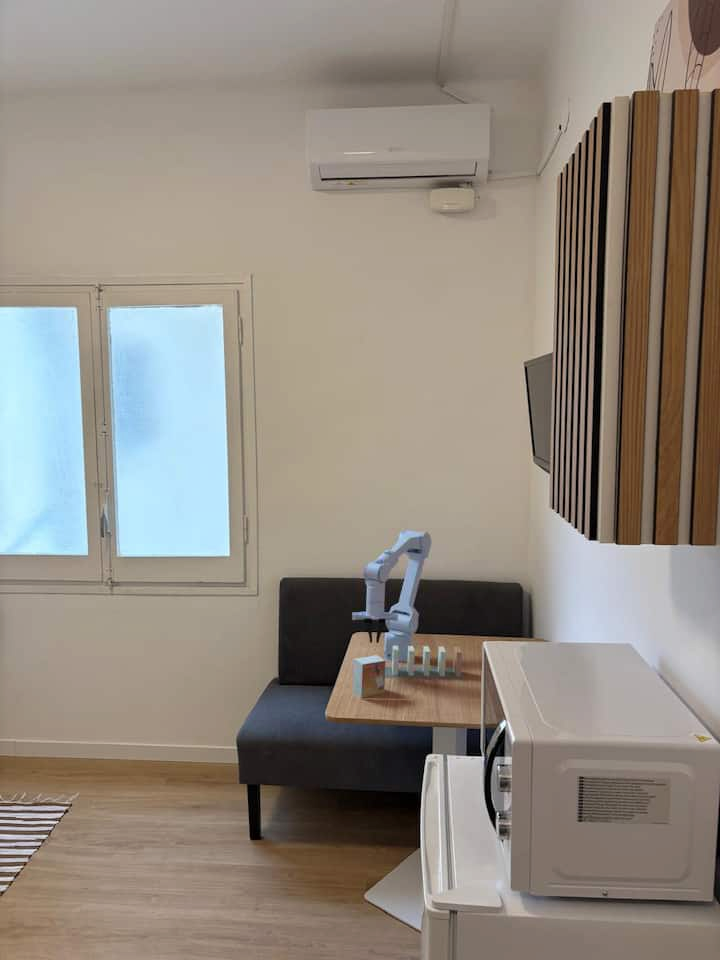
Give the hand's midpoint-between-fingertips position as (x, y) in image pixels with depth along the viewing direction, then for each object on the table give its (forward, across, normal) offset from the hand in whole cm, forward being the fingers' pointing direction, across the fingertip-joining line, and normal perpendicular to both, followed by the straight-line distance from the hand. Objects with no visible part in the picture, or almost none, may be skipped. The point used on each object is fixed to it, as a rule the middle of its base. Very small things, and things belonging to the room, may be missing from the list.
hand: (374, 641), depth 219 cm
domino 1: (+10, +7, 0) cm, 12 cm away
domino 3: (+10, +17, 0) cm, 20 cm away
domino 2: (+10, +12, 0) cm, 16 cm away
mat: (+10, +16, 0) cm, 19 cm away
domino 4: (+10, +22, 0) cm, 24 cm away
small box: (+11, -2, -16) cm, 19 cm away
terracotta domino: (+10, +27, 0) cm, 29 cm away
